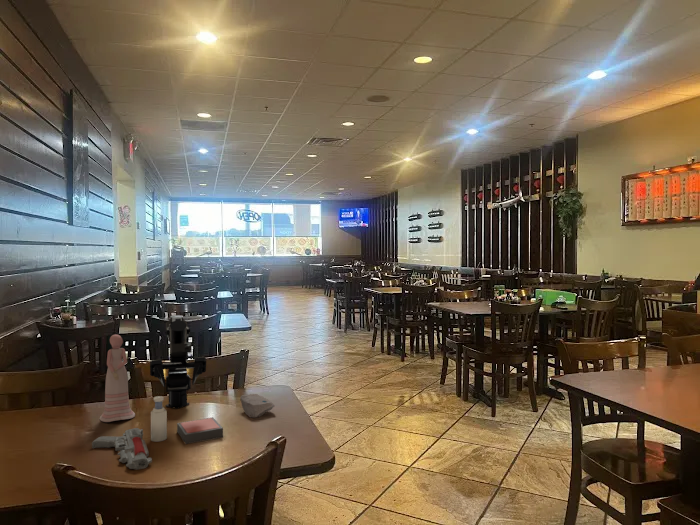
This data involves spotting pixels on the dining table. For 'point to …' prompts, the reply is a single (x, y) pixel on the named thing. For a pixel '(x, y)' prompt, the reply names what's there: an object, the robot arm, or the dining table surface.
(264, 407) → the stone
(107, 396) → the figurine
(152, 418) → the white bottle
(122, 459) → the toy gun
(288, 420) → the dining table surface
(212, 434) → the stand
